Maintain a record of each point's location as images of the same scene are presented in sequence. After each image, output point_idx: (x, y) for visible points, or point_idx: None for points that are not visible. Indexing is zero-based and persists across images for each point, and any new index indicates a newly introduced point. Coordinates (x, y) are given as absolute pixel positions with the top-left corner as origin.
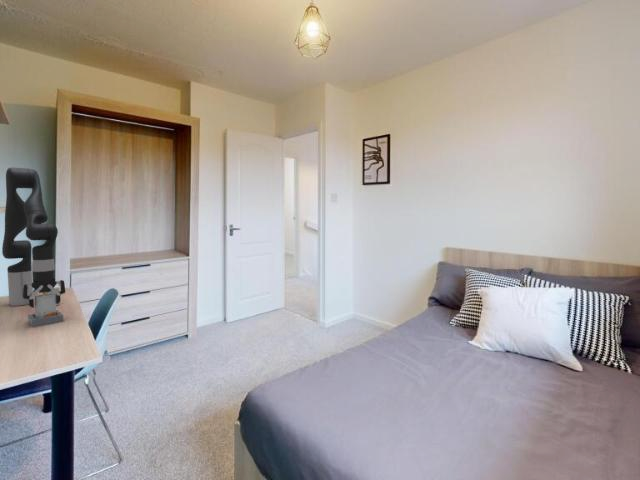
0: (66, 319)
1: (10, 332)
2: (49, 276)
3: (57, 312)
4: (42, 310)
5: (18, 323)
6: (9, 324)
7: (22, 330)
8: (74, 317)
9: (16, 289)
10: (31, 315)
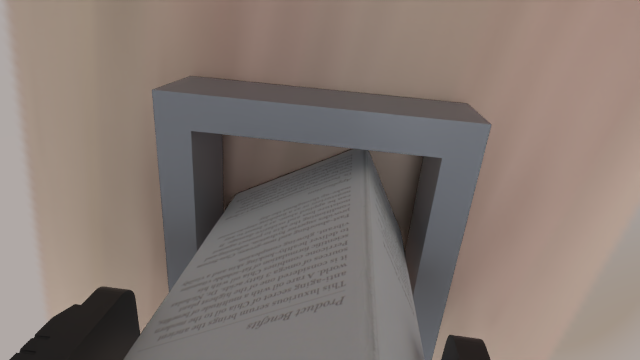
0: (462, 289)
1: (71, 301)
2: None
3: (430, 254)
4: None
5: (111, 77)
6: (40, 44)
7: (138, 317)
8: (541, 283)
9: None
10: (183, 158)
